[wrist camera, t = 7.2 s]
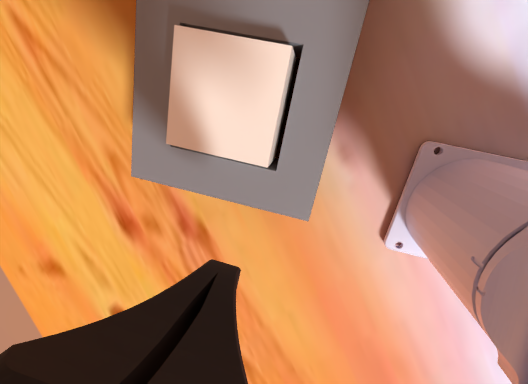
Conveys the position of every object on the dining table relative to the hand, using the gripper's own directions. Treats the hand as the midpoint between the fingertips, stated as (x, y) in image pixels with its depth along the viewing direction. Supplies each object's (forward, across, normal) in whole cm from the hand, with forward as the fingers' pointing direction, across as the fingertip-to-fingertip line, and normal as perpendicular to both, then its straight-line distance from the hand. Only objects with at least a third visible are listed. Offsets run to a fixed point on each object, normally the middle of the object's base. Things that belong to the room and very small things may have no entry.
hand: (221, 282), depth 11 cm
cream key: (+8, +3, -7) cm, 11 cm away
